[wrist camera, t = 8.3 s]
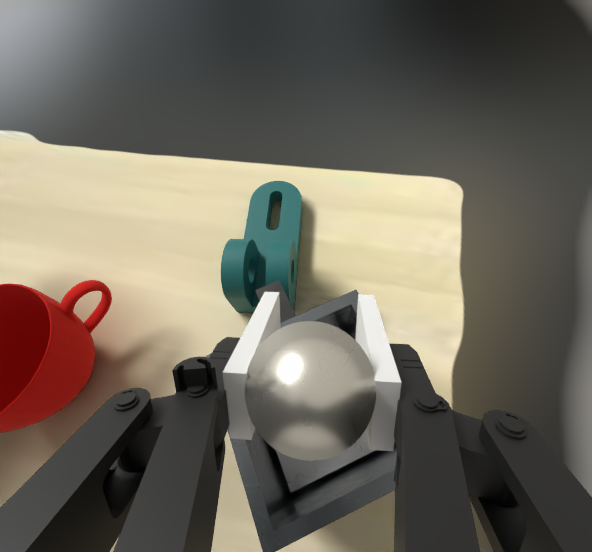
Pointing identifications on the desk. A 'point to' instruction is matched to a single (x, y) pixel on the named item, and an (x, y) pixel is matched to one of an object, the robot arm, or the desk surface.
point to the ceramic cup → (44, 351)
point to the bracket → (264, 248)
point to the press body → (324, 491)
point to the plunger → (311, 399)
